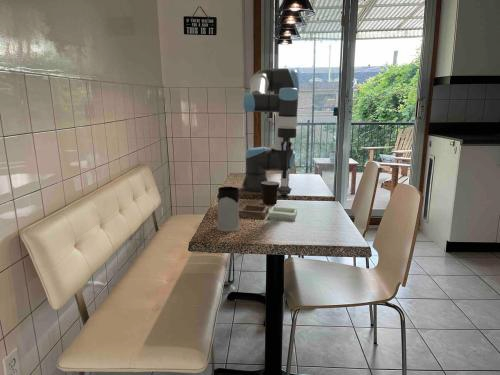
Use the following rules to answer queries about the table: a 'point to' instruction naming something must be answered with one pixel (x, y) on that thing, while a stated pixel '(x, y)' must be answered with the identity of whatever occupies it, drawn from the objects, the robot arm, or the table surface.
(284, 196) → the marbled chess piece
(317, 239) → the table surface
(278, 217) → the sage tray
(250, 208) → the walnut holder
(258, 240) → the table surface
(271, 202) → the coffee mug
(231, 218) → the white and black cylinder
